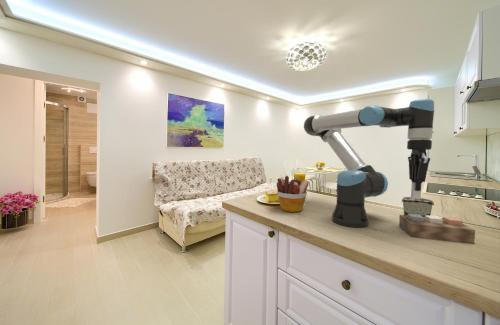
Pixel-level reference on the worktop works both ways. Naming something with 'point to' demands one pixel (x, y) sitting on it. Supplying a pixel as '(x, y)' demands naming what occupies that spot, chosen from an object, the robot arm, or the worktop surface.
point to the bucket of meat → (291, 194)
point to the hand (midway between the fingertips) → (415, 198)
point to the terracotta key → (452, 221)
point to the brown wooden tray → (437, 230)
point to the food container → (417, 206)
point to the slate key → (415, 218)
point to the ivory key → (433, 219)
